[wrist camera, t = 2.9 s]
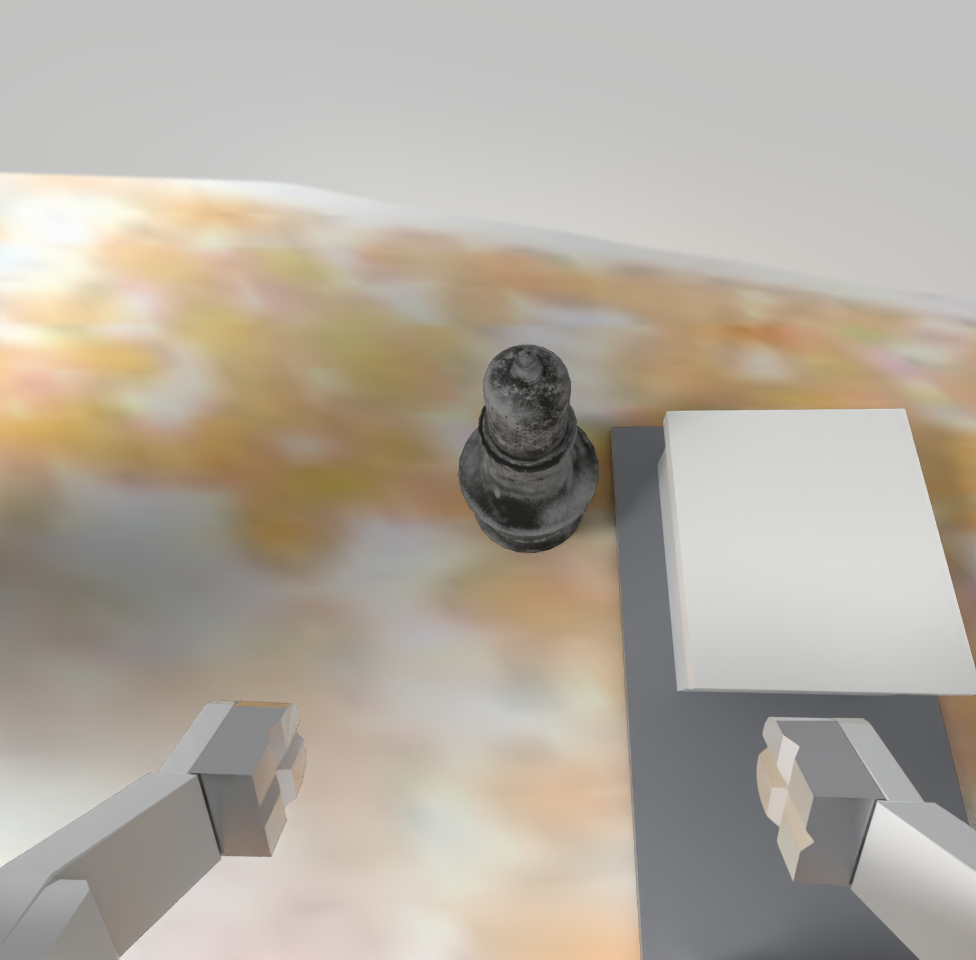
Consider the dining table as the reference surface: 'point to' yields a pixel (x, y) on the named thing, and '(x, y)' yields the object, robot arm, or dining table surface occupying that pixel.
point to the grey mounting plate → (772, 657)
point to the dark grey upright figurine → (528, 454)
